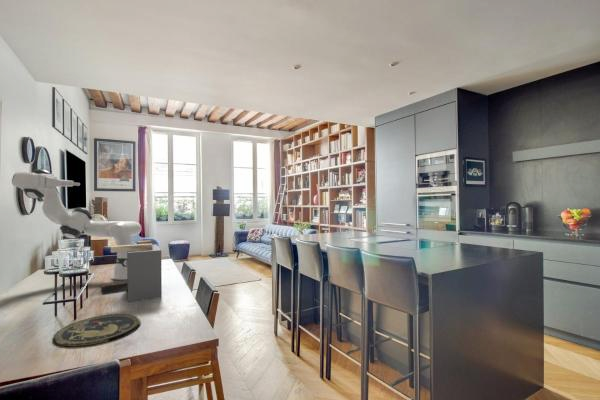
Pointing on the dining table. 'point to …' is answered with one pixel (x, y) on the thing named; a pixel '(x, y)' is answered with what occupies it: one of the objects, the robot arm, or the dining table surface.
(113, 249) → the birch lath
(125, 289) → the tablet
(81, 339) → the decorative plate
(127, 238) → the robot arm
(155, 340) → the dining table surface
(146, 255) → the grey upright box
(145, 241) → the walnut offcuts
